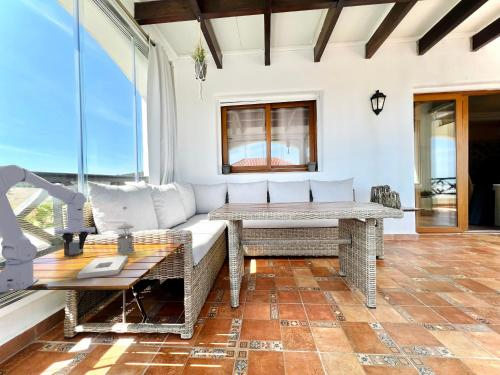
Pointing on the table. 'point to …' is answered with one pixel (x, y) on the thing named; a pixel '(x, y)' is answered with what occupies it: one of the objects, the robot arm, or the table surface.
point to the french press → (125, 240)
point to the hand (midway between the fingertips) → (76, 249)
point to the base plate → (110, 266)
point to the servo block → (75, 247)
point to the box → (66, 250)
